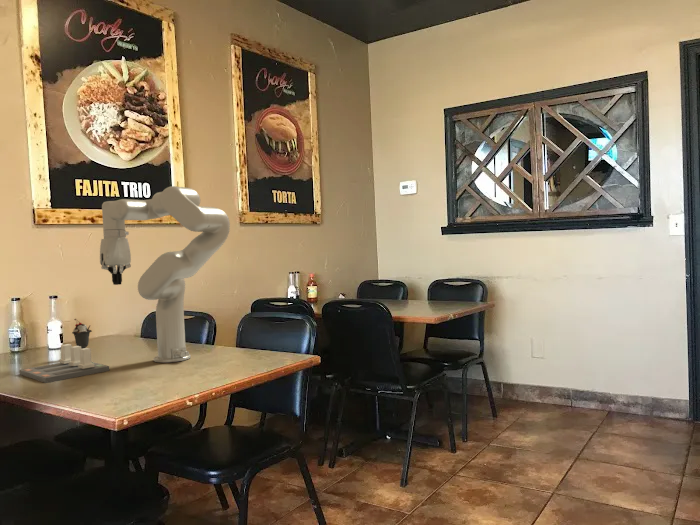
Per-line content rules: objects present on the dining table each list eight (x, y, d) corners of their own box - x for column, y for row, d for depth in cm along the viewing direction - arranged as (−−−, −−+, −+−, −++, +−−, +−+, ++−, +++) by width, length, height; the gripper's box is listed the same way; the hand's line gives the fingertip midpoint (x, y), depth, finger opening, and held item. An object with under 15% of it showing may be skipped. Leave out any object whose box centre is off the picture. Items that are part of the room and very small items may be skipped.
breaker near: (94, 366, 191) (93, 348, 191) (83, 368, 189) (82, 350, 188) (89, 365, 194) (88, 347, 194) (78, 367, 191) (77, 349, 191)
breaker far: (75, 361, 201) (74, 344, 201) (64, 363, 199) (63, 346, 198) (70, 360, 204) (69, 343, 204) (59, 362, 201) (58, 345, 201)
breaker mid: (84, 364, 196) (83, 346, 196) (73, 366, 194) (72, 348, 193) (79, 362, 199) (78, 345, 199) (68, 364, 196) (67, 347, 196)
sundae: (69, 359, 217) (66, 319, 217) (84, 355, 223) (82, 316, 223) (81, 360, 214) (78, 319, 214) (96, 356, 220) (94, 317, 220)
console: (109, 370, 193) (109, 365, 193) (45, 383, 179) (45, 377, 179) (80, 363, 208) (80, 358, 208) (19, 374, 193) (19, 369, 193)
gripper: (128, 234, 224) (131, 282, 224) (89, 235, 213) (92, 286, 213) (138, 234, 219) (141, 283, 219) (99, 234, 208) (102, 286, 208)
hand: (117, 284), depth 216 cm, fingers closed
